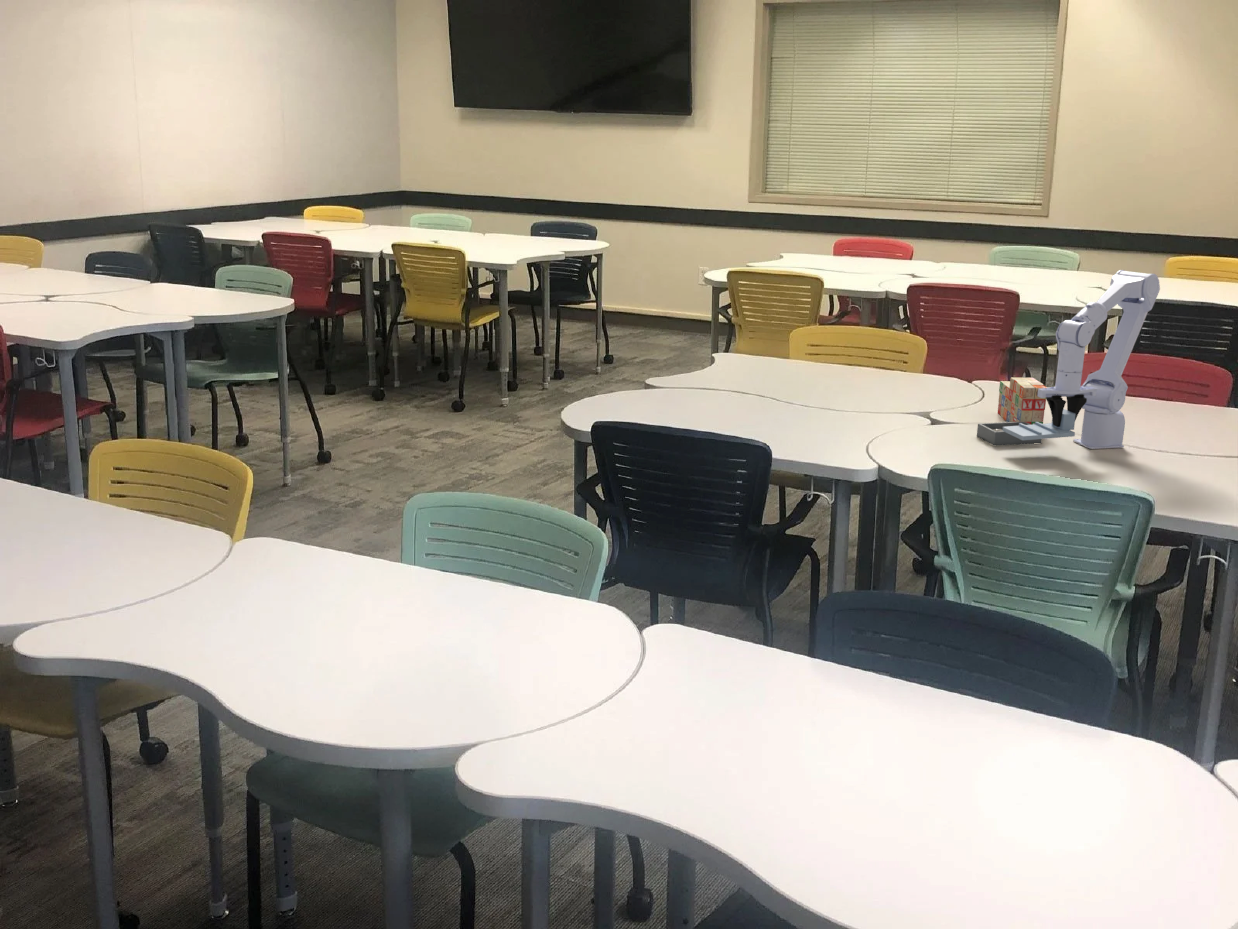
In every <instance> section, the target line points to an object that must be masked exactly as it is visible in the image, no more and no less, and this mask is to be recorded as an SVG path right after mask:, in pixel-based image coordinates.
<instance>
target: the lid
mask: <svg viewBox="0 0 1238 929" xmlns="http://www.w3.org/2000/svg"><path fill="white" fill-rule="evenodd" d="M1075 422H1076V420H1075V413H1073V412H1070V411H1068V410H1067V409H1065V408H1064V409H1063V412H1062V419H1061V424H1060V427H1057V426H1054V425H1053V420H1052V419H1051V422H1049V423H1043V424H1041V423H1039V422H1035V424H1033V425H1024V424H1022V423H1019V426H1007V427H1003V430H1002V431H1004V432H1006V433H1008V434H1010V435H1012V436H1014V437H1017V438H1019V439H1021V440H1034V439H1042V440H1045V439H1046V440H1047V439H1056V438H1057V439H1058V438H1070V437H1071V438H1072V437H1076V436H1075V435H1076V433H1075V431H1074V430H1075Z"/></svg>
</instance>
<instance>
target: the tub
mask: <svg viewBox="0 0 1238 929" xmlns="http://www.w3.org/2000/svg"><path fill="white" fill-rule="evenodd" d="M1019 423H1022V424H1024V425H1031V424H1028V423H1026V422H1007V421H1006V422H983V423H977V429H976V438H979V440H982V441H984V442H985V443H988V444H990V445H992V446H994V447H995V446H996V447H997V446H998V447H999V446H1018V445H1020V446H1021V445H1035V444H1034V443H1041V444H1042V441H1043V439H1034V440H1021V439H1019V438H1017V437H1014V436H1012V435H1010V434H1008V433H1006V432H1004V431H1002V430H1003V427H1007V426H1019Z"/></svg>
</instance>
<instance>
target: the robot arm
mask: <svg viewBox="0 0 1238 929" xmlns="http://www.w3.org/2000/svg"><path fill="white" fill-rule="evenodd" d="M1160 286H1161V285H1160V279H1159V277H1158V274H1156V273H1147V272H1146V273H1145V272H1137V271H1130V270H1125V269H1119V270H1118V271H1116V273H1115V274H1113V276H1112V277H1111V279H1110V285H1109V287H1108V289H1106V291H1105V292H1104V293H1103V294H1102V295H1101V296H1100V297H1099V298H1098V300H1097V301H1090V302H1088V303H1086V305H1085V306H1084V307H1083V308H1082V309H1080V310H1079V311H1078V312H1077V314H1075V315H1074V316H1073V317H1072V318H1071V319H1066V320H1064V321H1062V322H1060V324H1059V325H1058V327H1057V330H1056V331H1055V338H1056V343H1057V347H1056V348H1057V350H1058V360H1057V367H1056V368H1057V369H1056V378H1055V385H1054V386H1050V387H1049V386H1048V387H1047V388H1041V389H1038V395H1037V396H1038V397H1040V398H1045V397H1046V403H1047V404H1048V406H1049V409H1050V413H1051V421H1052V420H1053V425H1054V426H1057V427H1060V424H1061V419H1062V412H1063V409H1065V406H1066V407H1067V409H1066V410H1068V411H1070V412H1073V413H1075V421H1076V420H1077V417H1078V416H1079V414H1080V411H1081V410H1083V419H1082V428H1081V436H1080V438H1075V439H1072V440H1073V442H1074V443H1077V444H1079V445H1080V446H1084V447H1086V448H1087V449H1090V450H1097V449H1099V450H1100V449H1115V448H1116V449H1117V448H1119V449H1120V448H1124V447H1125V445H1124V444H1123V442H1124V435H1125V434H1124V433H1125V429H1126V428H1125V426H1126V425H1125V424H1126V419H1125V414H1124V413H1123V412H1122V411H1121V409H1122V408H1123V407H1124V404H1125V401H1126V394H1127V390H1128V388H1129V387H1128V384H1127V383H1126V381H1125V379H1124V378H1123V377H1122V375H1123V373H1124V370H1125V368H1126V365H1127V363H1128V360H1129V358H1130V357H1131V356H1130V355H1131V353H1132V352H1133V349H1134V346H1135V344H1136V342H1137V339H1138V337H1139V335H1140V332H1141V330H1142V327H1143V325H1144V322H1145V320H1146V318H1147V315H1148V312H1150V311H1152V309H1153V307H1154V306H1155V303H1156V300H1157V298H1158V296H1159V293H1160V290H1161V287H1160ZM1117 305H1118V307H1120V308H1121V309H1122V311H1123V313H1122V316H1121V318H1120V321H1119V323H1118V326H1117V328H1116V329H1115V333H1114V335H1113V338H1112V339H1111V342H1110V345H1109V346H1108V349H1107V352H1106V354H1105V356H1104V359H1103V361H1102V363H1101V366H1100V368H1099V369H1098V370H1095V371H1094V372H1092V373H1089V374H1088V375H1087V378H1086V380H1084V382H1083V383H1082V377H1083V369H1084V360H1085V352H1086V346H1088V345H1089V344H1090V343H1091V341H1092V338H1093V336H1094V335H1095V332H1096V330H1097V329H1098V328H1099V327H1100V326H1101V325H1102V324H1103V323H1104V322H1106V320H1107V318H1108V312H1109V311H1111V310H1112V309H1113V308H1114V307H1116V306H1117ZM1063 397H1066V400H1064V399H1063Z"/></svg>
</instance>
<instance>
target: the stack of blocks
mask: <svg viewBox="0 0 1238 929" xmlns="http://www.w3.org/2000/svg"><path fill="white" fill-rule="evenodd" d="M1009 380H1010V381H1009ZM1009 380H1008V381H1007V380H1006V381H1005V380H1004V381H1003V380H1000V381H999V388H998V389H999V390H998V392H999V394H998V403H997V404H998V405H997V414H999V416H1001V418H1002V419H1003V420H1005V421H1006V422H1026V423H1028V424H1031V425H1033V424H1035V422H1039V423H1041V424H1044V418H1045V410H1046V403H1047V400H1046V397H1045V398H1040V397H1038V396H1037V395H1038V389H1041V388H1048V387H1047V386H1046V385H1045V384H1043V383H1042V382H1041V381H1039V380H1037V379H1036V378H1034V377H1012V376H1011V377H1010V379H1009Z"/></svg>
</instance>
